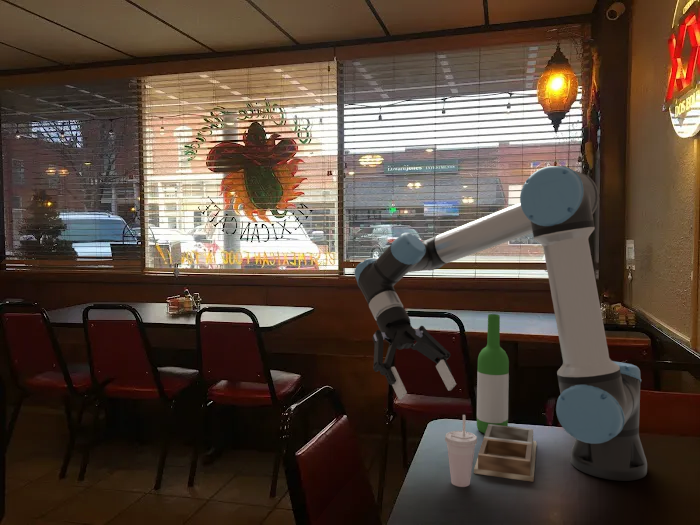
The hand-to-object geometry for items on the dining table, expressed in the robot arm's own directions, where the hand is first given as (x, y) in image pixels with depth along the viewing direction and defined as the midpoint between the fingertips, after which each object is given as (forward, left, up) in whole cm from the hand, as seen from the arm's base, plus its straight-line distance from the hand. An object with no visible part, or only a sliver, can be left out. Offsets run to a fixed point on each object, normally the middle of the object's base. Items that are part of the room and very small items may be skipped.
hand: (428, 391), depth 125 cm
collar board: (-16, -9, -16) cm, 25 cm away
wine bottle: (-11, -26, -16) cm, 33 cm away
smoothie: (-8, +7, -16) cm, 20 cm away
